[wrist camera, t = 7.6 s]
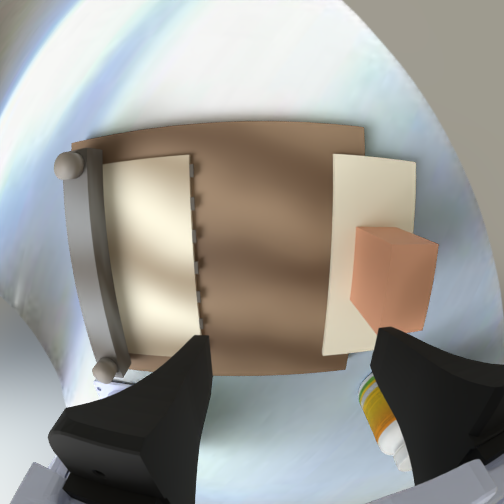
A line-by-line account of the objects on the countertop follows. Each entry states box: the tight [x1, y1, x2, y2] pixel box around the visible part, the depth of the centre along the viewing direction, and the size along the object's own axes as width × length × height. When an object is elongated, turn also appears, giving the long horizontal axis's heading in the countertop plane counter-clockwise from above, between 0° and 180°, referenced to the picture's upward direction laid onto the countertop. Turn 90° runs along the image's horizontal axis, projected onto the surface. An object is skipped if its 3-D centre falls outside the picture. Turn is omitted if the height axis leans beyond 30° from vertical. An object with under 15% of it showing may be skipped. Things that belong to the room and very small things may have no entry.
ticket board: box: [54, 121, 365, 384], centre depth 17 cm, size 18×20×5 cm
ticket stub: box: [322, 154, 439, 356], centre depth 15 cm, size 14×6×5 cm, turn 1°
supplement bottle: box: [358, 373, 412, 472], centre depth 18 cm, size 5×5×10 cm
